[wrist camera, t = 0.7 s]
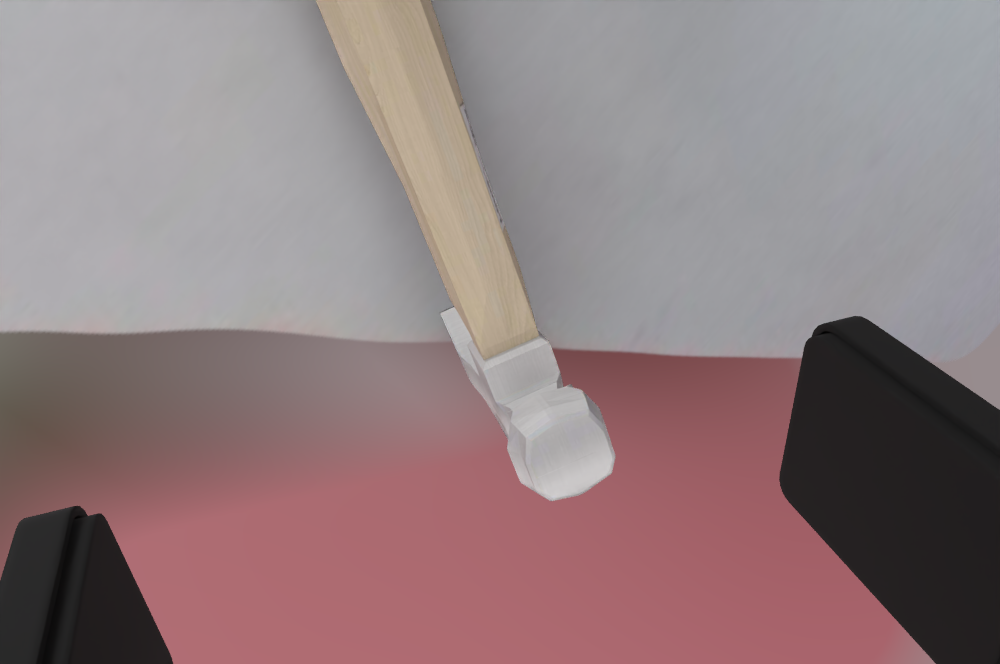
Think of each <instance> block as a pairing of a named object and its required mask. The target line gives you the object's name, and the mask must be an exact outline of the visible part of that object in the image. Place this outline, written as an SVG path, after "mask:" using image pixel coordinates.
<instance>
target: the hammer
mask: <svg viewBox="0 0 1000 664" xmlns="http://www.w3.org/2000/svg"><path fill="white" fill-rule="evenodd" d="M316 2H317V5H318V7H319V9H320V12H321V14H322V17H323V19H324V21H325V24H326V26H327V29H328V31H329V33H330V36H331V38H332V41H333V43H334V45H335V48H336V50H337V52H338V55H339V57H340V60H341V62H342V64H343V67H344V69H345V71H346V73H347V75H348V77H349V79H350V81H351V83H352V85H353V87H354V89H355V91H356V93H357V95H358V97H359V99H360V101H361V103H362V105H363V107H364V109H365V111H366V113H367V115H368V117H369V119H370V121H371V123H372V125H373V127H374V129H375V131H376V133H377V135H378V137H379V139H380V141H381V143H382V145H383V147H384V149H385V151H386V153H387V155H388V157H389V158H390V160H391V162H392V164H393V166H394V168H395V170H396V172H397V174H398V176H399V178H400V180H401V182H402V184H403V186H404V189H405V191H406V193H407V196H408V198H409V201H410V203H411V206H412V208H413V210H414V213H415V215H416V218H417V220H418V223H419V225H420V227H421V230H422V232H423V235H424V237H425V240H426V242H427V244H428V247H429V249H430V252H431V254H432V256H433V259H434V261H435V264H436V266H437V269H438V271H439V273H440V276H441V278H442V281H443V283H444V286H445V288H446V290H447V293H448V295H449V298H450V300H451V301H452V303H453V305H454V307H453V308H451V309H448V310H446V311H444V312H441V313H440V314H441V317H442V319H443V321H444V324H445V326H446V328H447V330H448V333H449V335H450V337H451V340H452V342H453V344H454V346H455V349H456V351H457V353H458V355H459V358H460V360H461V362H462V364H463V366H464V368H465V371H466V373H467V375H468V377H469V379H470V382H471V383H472V384H473V386H474V387H475V388H476V389H477V391H478V392H479V393H480V394H481V395H482V397H483V398H484V399H485V401H486V402H487V404H488V406H489V407H490V409H491V411H492V412H493V414H494V416H495V418H496V419H497V421H498V423H499V424H500V426H501V428H502V430H503V432H504V433H505V435H506V437H507V438H508V447H507V450H508V453H509V455H510V458H511V460H512V463H513V465H514V467H515V470H516V472H517V475H518V477H519V480H520V482H521V483H522V484H524V485H525V486H527V487H529V488H530V489H532V490H533V491H535V492H536V493H538V494H540V495H541V496H543V497H544V498H546V499H548V500H550V501H554V500H559V499H564V498H568V497H573V496H577V495H580V494H583V493H584V492H586V491H587V490H589V489H590V488H592V487H593V486H594V485H596V484H597V483H599V482H600V481H602V480H603V479H604V478H606V477H607V476H609V475H610V474H611V473H612V469H613V465H614V460H615V453H614V451H613V448H612V445H611V440H610V438H609V435H608V432H607V429H606V426H605V423H604V420H603V417H602V414H601V411H600V409H599V407H598V406H597V405H596V404H595V403H594V402H593V401H592V400H591V399H590V398H589V397H588V396H587V395H586V394H585V393H584V392H583V391H582V390H580V389H576V388H573V386H572V385H571V384H570V385H568V386H566V387H563V382H562V378H561V374H560V370H559V368H558V365H557V362H556V359H555V357H554V354H553V351H552V348H551V345H550V342H549V341H548V340H547V339H546V338H545V337H544V336H543V335H542V334H541V333H540V332H539V331H538V330H537V327H536V324H535V320H534V317H533V313H532V309H531V306H530V302H529V298H528V295H527V291H526V288H525V284H524V280H523V277H522V273H521V269H520V267H519V264H518V261H517V258H516V255H515V252H514V250H513V247H512V244H511V241H510V238H509V236H508V233H507V230H506V227H505V224H504V221H503V219H502V216H501V213H500V210H499V207H498V205H497V202H496V199H495V196H494V193H493V191H492V188H491V185H490V182H489V179H488V176H487V174H486V171H485V168H484V165H483V162H482V160H481V157H480V154H479V150H478V147H477V144H476V141H475V138H474V134H473V131H472V128H471V125H470V122H469V118H468V115H467V112H466V109H465V105H464V102H463V99H462V96H461V93H460V89H459V86H458V83H457V80H456V77H455V73H454V70H453V67H452V64H451V61H450V57H449V54H448V51H447V48H446V45H445V41H444V38H443V35H442V32H441V29H440V26H439V23H438V20H437V18H436V15H435V12H434V9H433V6H432V3H431V0H316Z"/></svg>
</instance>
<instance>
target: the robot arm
mask: <svg viewBox="0 0 1000 664" xmlns="http://www.w3.org/2000/svg"><path fill="white" fill-rule="evenodd" d="M779 480H780V486H781V489H782V492H783V494H784V495H785V497H786V499H787V500H788V501H789V503H790V504H791V505H792V506H793V507H794V508H795V509H796V510H797V511H798V512H799V514H800V515H801V516H802V517H803V518H804V519H805V520H806V521H807V522H808V523H809V525H811V527H812V528H813V529H814V530H815V531H816V532H817V533H818V534H819V536H820V537H821V538H822V539H823V540H824V541H825V542H826V543H827V544H828V545H829V547H830V548H831V549H832V550H833V551H834V552H835V553H836V554H837V555H838V556H839V558H840V559H841V560H842V561H843V562H844V563H845V564H846V565H847V566H848V567H849V569H850V570H851V571H852V572H853V573H854V574H855V575H856V576H857V577H858V578H859V580H860V581H861V582H862V583H863V584H864V585H865V586H866V587H867V588H868V589H869V590H870V592H871V593H872V594H873V595H874V596H875V597H876V598H877V599H878V600H879V601H880V603H881V604H882V605H883V606H884V607H885V608H886V609H887V610H888V611H889V612H890V614H891V615H892V616H893V617H894V618H895V619H896V620H897V621H898V622H899V624H901V626H902V627H903V628H904V629H905V630H906V631H907V632H908V633H909V635H910V636H912V638H913V639H914V640H915V641H916V642H917V643H918V644H919V645H920V647H921V648H922V649H923V650H924V651H925V652H926V653H927V654H928V655H929V656H930V658H931V659H932V660H933V661H934V662H935V663H936V664H1000V410H999V409H997V408H996V407H994V406H992V405H991V404H990V403H988V402H987V401H986V400H984V399H983V398H981V397H980V396H978V395H977V394H975V393H974V392H972V391H971V390H970V389H968V388H967V387H965V386H964V385H962V384H961V383H959V382H958V381H956V380H955V379H953V378H952V377H951V376H949V375H948V374H946V373H945V372H943V371H942V370H940V369H939V368H938V367H936V366H935V365H933V364H932V363H930V362H929V361H927V360H926V359H924V358H923V357H922V356H920V355H919V354H917V353H916V352H914V351H913V350H911V349H910V348H908V347H907V346H905V345H904V344H903V343H901V342H900V341H898V340H897V339H895V338H894V337H892V336H891V335H889V334H888V333H887V332H885V331H884V330H882V329H881V328H879V327H878V326H876V325H875V324H873V323H872V322H871V321H869V320H867V319H865V318H863V317H861V316H853V317H849V318H845V319H841V320H837V321H833V322H828V323H824V324H822V325H819V326H818V327H817V328H816V329H815V330H814V332H813V335H812V337H811V338H809V339H808V340H807V342H806V344H805V347H804V352H803V357H802V362H801V367H800V372H799V378H798V383H797V388H796V393H795V398H794V403H793V409H792V414H791V419H790V424H789V429H788V435H787V440H786V445H785V450H784V455H783V461H782V465H781V471H780V479H779ZM0 664H173V662H172V658H171V655H170V653H169V651H168V648H167V646H166V645H165V643H164V640H163V638H162V636H161V634H160V632H159V630H158V627H157V625H156V623H155V621H154V619H153V617H152V615H151V613H150V611H149V608H148V606H147V604H146V602H145V600H144V598H143V596H142V594H141V592H140V589H139V587H138V585H137V583H136V581H135V579H134V577H133V575H132V573H131V571H130V569H129V566H128V564H127V562H126V560H125V558H124V556H123V554H122V552H121V550H120V547H119V545H118V543H117V541H116V539H115V537H114V535H113V533H112V530H111V529H110V526H109V524H108V522H107V520H106V519H105V517H104V516H103V515H102V514H94V515H90V516H88V515H87V514H86V512H85V511H84V510H83V509H82V508H81V507H80V506H73V507H69V508H65V509H61V510H57V511H53V512H49V513H44V514H40V515H36V516H32V517H28V518H24V519H23V520H21V521H20V522H19V524H18V526H17V528H16V531H15V534H14V538H13V541H12V544H11V547H10V551H9V554H8V557H7V561H6V564H5V567H4V570H3V574H2V577H1V580H0Z"/></svg>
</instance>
